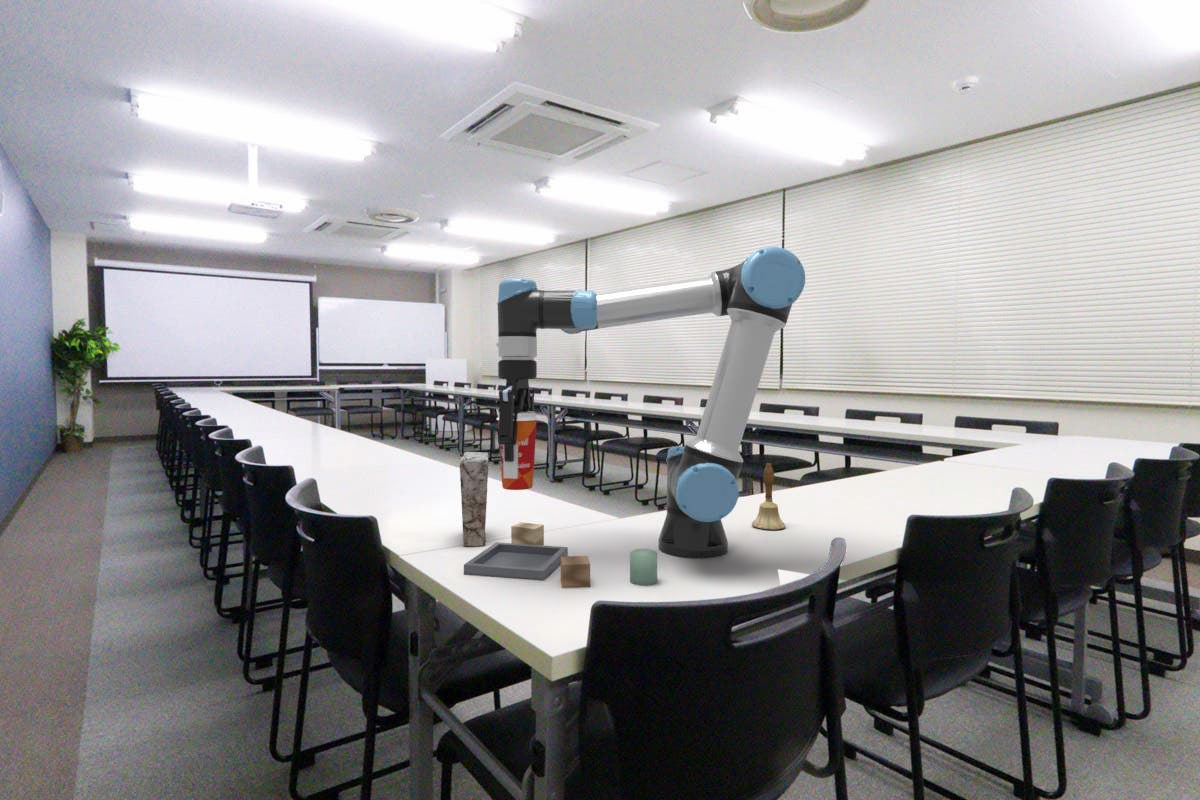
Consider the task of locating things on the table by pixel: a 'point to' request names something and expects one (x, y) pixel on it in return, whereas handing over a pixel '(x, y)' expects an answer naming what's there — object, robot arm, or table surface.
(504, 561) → the charcoal tray
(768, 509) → the hand bell
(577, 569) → the walnut cube
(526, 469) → the coffee cup
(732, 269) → the robot arm
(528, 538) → the oak block
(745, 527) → the table surface
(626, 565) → the table surface
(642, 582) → the green tin
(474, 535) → the stone block
